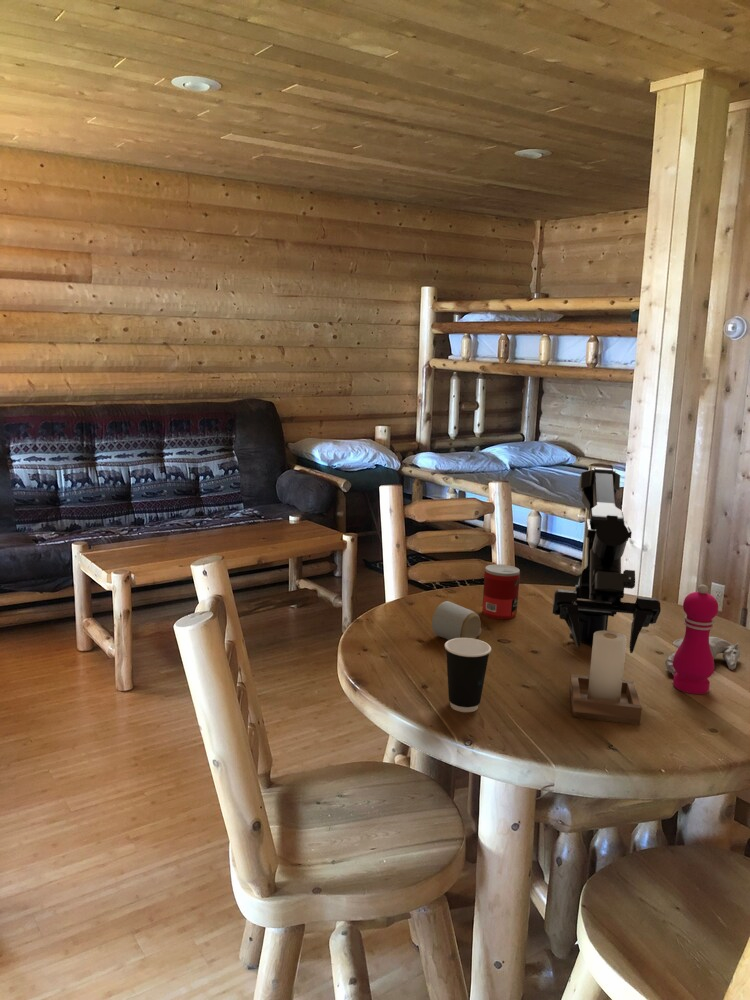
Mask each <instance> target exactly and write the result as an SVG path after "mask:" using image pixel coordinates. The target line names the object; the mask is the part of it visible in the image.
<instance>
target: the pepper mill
mask: <svg viewBox="0 0 750 1000" xmlns="http://www.w3.org/2000/svg"><path fill="white" fill-rule="evenodd" d="M696 590H697V591H694V592H690V593H689V594H687V596H685V598H684V599H683V603H682V609H683V611H684V613H685V614H686V615H685V616H684V617H683V619H684V621H683V624H684V625H685V631H684V632H685V633H684V637H683V638H682V639H683V642H682V643H681V645H680V647H679V648H678V647H677V650H676V651H675V652H676V653H675V656H674V659H673V667H674V669H675V671H676V672H677V673H676V674H675V675H674V676H673V679H672V680H673V681H672V684H673V686H674V688H675V689H677V690H679V691H682V692H683V693H686V694H692V695H703V694H707V693H708V692H709V690H710V679H709V678H710V677H712V676H713V674H714V673H715V660H714V659H715V658H714V659H713V656H712V653H711V650H710V646H709V637H710V633H711V630H712V629H713V628H714V620H713V618H715V617H716V616H717V615H718V613H719V603H718V600H717V598H715V597H714V596H713V595H712V594H710V593H708V591H709V588H708V586H707V585H706V584H700V585H698V587H697V589H696Z"/></svg>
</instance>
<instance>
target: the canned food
mask: <svg viewBox="0 0 750 1000" xmlns="http://www.w3.org/2000/svg"><path fill="white" fill-rule="evenodd" d="M520 575H521V572H520V569H519V568H518V567H516V566H514V565H509V564H503V563H502V564H501V563H500V564H499V563H497V564H496V563H495V564H489V565H486V566H485V569H484V576H483V594H482V613H483V615H484V616H486V617H488V618H491V619H495V620H510V619H513V618H515V617H516V616H517V612H518V600H519V590H520Z"/></svg>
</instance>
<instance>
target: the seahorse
mask: <svg viewBox="0 0 750 1000" xmlns="http://www.w3.org/2000/svg"><path fill="white" fill-rule="evenodd" d="M683 639H684V638H683V637H682V638H677V639H676V640H674V641H673V642H672V644H673V646H675V647H677V649H678V648H679V647H680V645H681V643H682V642H683ZM709 646H710V650H711V653H712V656H713V659H715V658H716V657H717V655H719V654H722V659H724V661H725V662H726V666H727V667H728V670H730V669H731V671H733V670H732V669H734V670H735V669H736V667H737V663H738V660H739V659H740V657H741V655H742V653H741V650H740V649H739V647H740V646H739V642H737V643H735V645H734V644H732V643H731V642H729V641H727V640H725V639H722V638H721V637H720V638H719V637H717V636H709ZM675 653H676V651H673V652H671V653H670V655H668V656H667V657H666V658H667V659H666V660H665V662H664V664H665V667H666V670H667V671H668V672H669V673H671V674H672V676H673V677H674V675H675V674H676V673H677V672H676V671H675V669H674V667H673V659H674V656H675Z"/></svg>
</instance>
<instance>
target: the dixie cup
mask: <svg viewBox="0 0 750 1000" xmlns="http://www.w3.org/2000/svg"><path fill="white" fill-rule="evenodd" d="M444 648H445V651H446V653H445V654H446V671H447V672H446V673H447V674H446V675H447V687H448V688H447V690H448V691H447V692H448V693H447V694H448V701H449V703H450V704H449V706H450V707H451V709H453V710H455V711H457V712H461V713H472V712H473V713H474V712H475V711H477V710H478V708H479V705H480V704H481V700H482V695H483V690H484V688H483V687H484V683H485V677H486V673H487V668H488V667H487V666H488V661H489V656H490V653H491V651H492V646H490V644H489V643H487V642H486V641H483V640H481V639H477V638H476V639H473V638H455V639H451V640H447V641H446V642H445V643H444Z"/></svg>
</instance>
